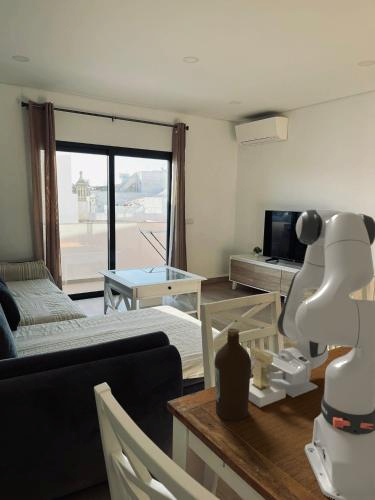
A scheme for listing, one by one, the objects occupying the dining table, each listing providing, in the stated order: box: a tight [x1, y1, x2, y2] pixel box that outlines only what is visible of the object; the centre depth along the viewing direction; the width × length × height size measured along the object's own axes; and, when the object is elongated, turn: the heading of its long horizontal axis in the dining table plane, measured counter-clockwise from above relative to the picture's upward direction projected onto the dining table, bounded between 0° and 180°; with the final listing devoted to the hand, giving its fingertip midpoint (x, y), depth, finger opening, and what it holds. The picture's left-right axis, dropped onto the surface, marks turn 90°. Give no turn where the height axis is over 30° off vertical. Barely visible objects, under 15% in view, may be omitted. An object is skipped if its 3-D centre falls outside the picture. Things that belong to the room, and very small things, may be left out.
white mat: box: [272, 379, 319, 398], centre depth 123 cm, size 12×12×1 cm
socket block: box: [248, 377, 287, 408], centre depth 116 cm, size 11×11×3 cm
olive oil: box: [213, 327, 252, 421], centre depth 105 cm, size 11×11×25 cm
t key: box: [250, 346, 273, 391], centre depth 115 cm, size 8×3×14 cm, turn 32°
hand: (259, 371), depth 115 cm, fingers open, 7 cm apart
